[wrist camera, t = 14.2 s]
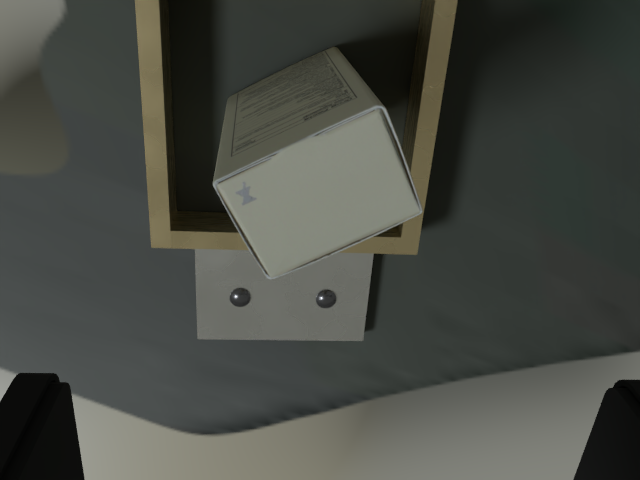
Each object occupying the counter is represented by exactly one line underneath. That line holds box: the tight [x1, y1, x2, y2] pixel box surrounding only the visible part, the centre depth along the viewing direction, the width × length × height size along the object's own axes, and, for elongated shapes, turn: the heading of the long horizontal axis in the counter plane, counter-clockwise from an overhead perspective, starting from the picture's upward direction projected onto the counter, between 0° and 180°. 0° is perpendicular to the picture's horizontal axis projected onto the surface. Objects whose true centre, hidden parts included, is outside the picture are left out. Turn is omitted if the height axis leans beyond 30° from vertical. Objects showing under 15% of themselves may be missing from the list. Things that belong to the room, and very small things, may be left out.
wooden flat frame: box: [135, 0, 458, 341], centre depth 30 cm, size 14×28×2 cm, turn 176°
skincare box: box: [213, 47, 423, 279], centre depth 25 cm, size 6×4×12 cm
